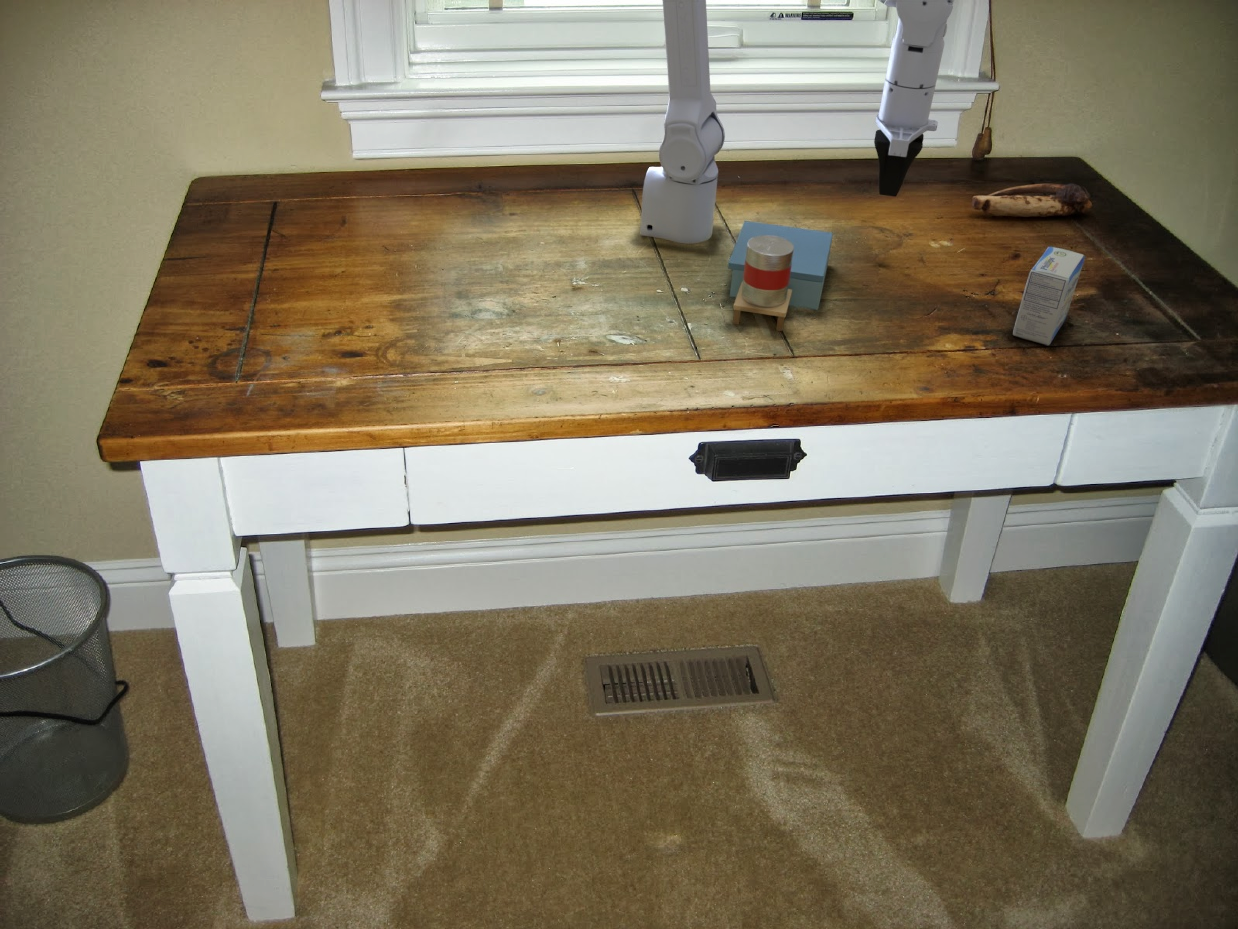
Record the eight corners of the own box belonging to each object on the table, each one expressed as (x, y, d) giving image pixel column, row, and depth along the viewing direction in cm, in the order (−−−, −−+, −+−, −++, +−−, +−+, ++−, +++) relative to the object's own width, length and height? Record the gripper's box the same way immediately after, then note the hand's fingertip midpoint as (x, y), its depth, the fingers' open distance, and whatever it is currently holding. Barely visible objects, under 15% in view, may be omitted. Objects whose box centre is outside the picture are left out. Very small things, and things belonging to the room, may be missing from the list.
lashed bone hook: (1066, 200, 160) (952, 198, 158) (1075, 169, 158) (959, 167, 155) (1096, 224, 153) (977, 223, 150) (1107, 192, 150) (985, 190, 148)
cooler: (728, 301, 129) (732, 269, 127) (744, 257, 139) (748, 226, 137) (816, 315, 128) (822, 282, 125) (826, 269, 137) (832, 238, 135)
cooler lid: (727, 268, 127) (728, 262, 126) (743, 226, 137) (744, 220, 136) (822, 282, 125) (823, 276, 125) (832, 238, 135) (833, 232, 134)
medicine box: (1048, 347, 124) (1070, 279, 119) (1010, 336, 125) (1030, 268, 120) (1065, 320, 129) (1087, 254, 124) (1028, 309, 131) (1048, 244, 126)
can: (737, 303, 122) (744, 251, 118) (744, 283, 126) (751, 232, 123) (783, 310, 121) (791, 258, 118) (789, 290, 126) (796, 238, 122)
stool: (730, 329, 124) (733, 304, 122) (738, 305, 129) (741, 281, 127) (782, 337, 123) (786, 312, 121) (788, 313, 128) (792, 289, 126)
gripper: (945, 104, 117) (919, 221, 125) (946, 67, 128) (922, 176, 137) (880, 96, 118) (858, 213, 126) (886, 60, 130) (866, 169, 138)
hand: (887, 193), depth 132 cm, fingers closed
